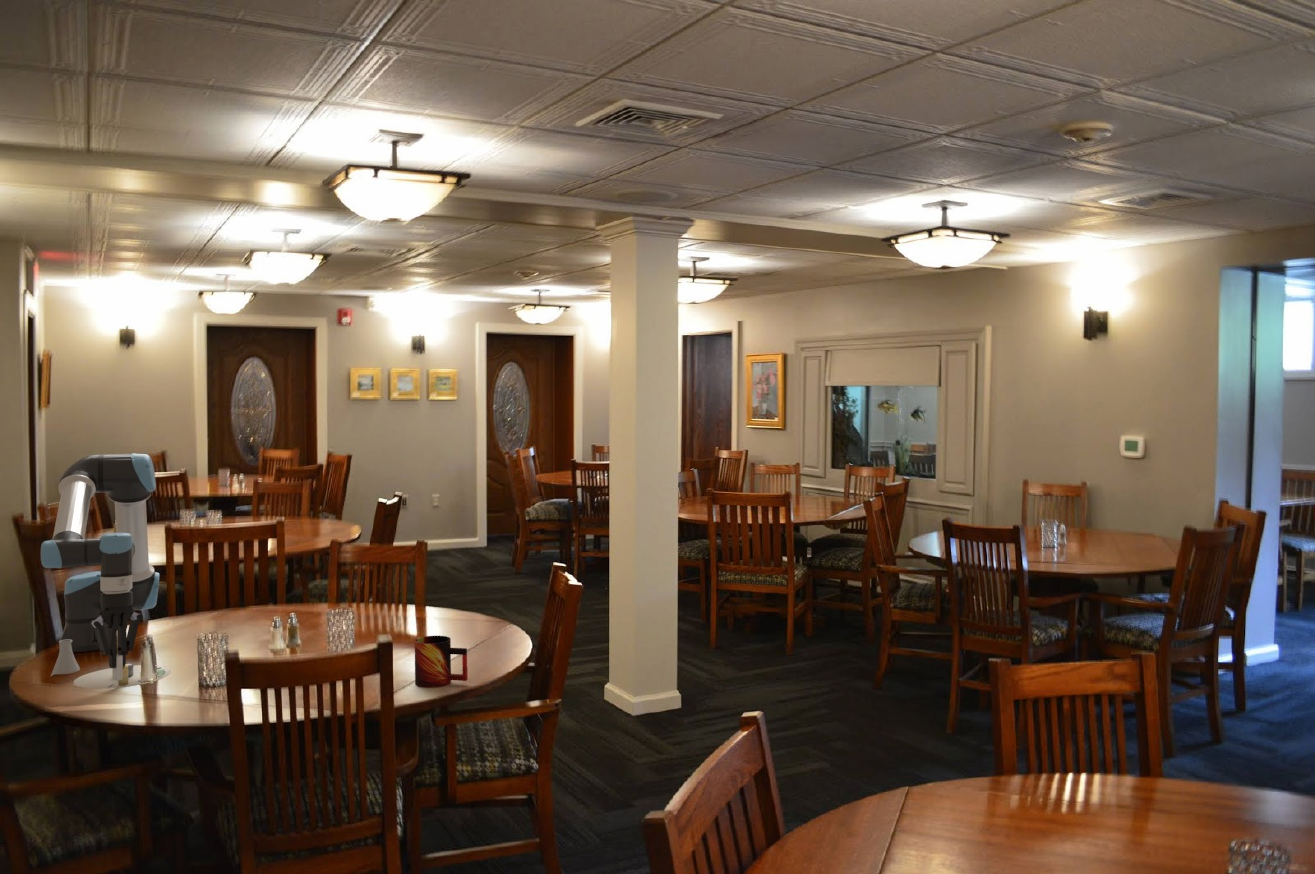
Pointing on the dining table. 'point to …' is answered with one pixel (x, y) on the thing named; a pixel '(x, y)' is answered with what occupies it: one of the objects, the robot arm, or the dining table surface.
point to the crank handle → (126, 673)
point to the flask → (65, 659)
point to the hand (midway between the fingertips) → (117, 679)
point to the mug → (437, 662)
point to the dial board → (105, 681)
